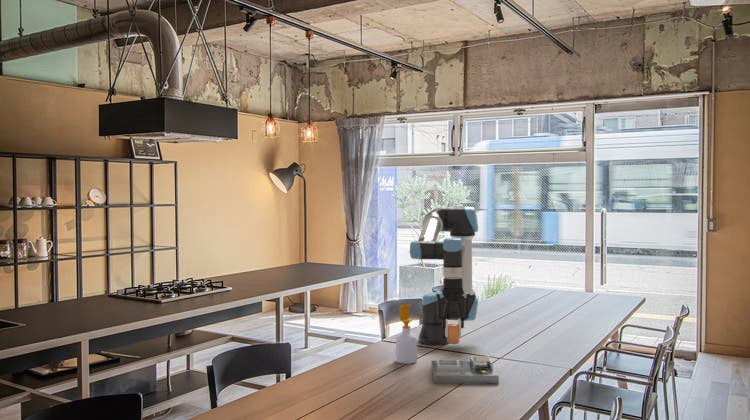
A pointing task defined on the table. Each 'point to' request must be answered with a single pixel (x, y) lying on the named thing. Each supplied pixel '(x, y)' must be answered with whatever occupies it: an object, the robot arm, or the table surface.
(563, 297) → the table surface
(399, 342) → the soap bottle
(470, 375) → the breaker panel
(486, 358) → the block
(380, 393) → the table surface
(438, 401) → the table surface
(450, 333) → the cap
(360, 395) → the table surface
